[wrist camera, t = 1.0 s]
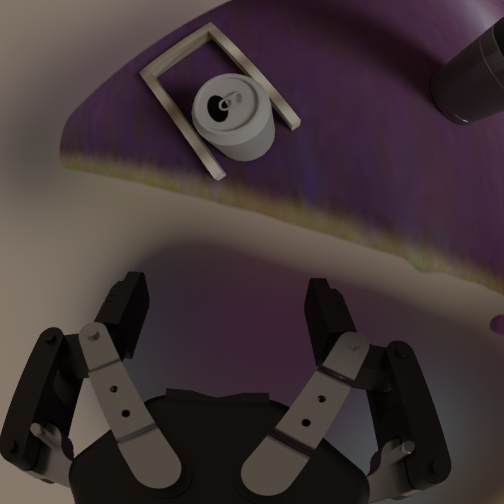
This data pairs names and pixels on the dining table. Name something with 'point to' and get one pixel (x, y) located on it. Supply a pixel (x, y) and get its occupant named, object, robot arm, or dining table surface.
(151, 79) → the wooden frame
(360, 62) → the dining table surface
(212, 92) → the can
